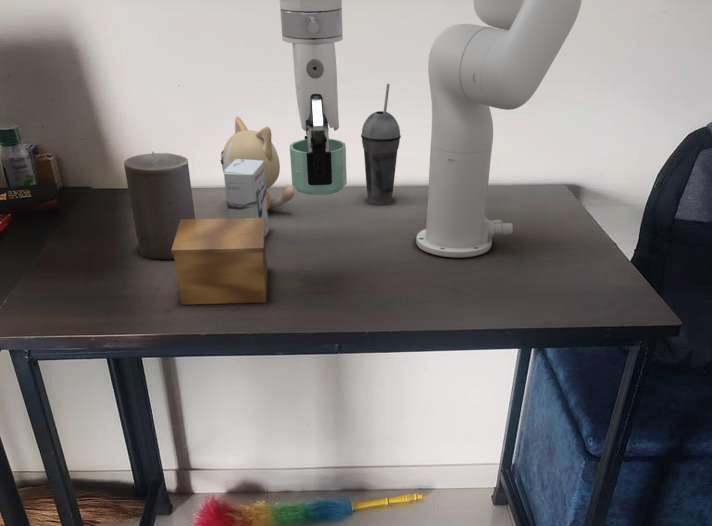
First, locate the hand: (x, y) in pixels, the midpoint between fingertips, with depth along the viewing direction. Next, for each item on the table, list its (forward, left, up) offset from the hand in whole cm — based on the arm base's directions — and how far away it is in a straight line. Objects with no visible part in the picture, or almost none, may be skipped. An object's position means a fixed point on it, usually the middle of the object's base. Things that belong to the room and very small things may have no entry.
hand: (318, 174), depth 105 cm
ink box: (+11, -20, -16) cm, 28 cm away
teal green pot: (0, 0, -2) cm, 2 cm away
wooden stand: (+14, 0, -16) cm, 21 cm away
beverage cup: (-13, -39, -16) cm, 44 cm away
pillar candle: (+24, -16, -16) cm, 33 cm away
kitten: (+11, -35, -16) cm, 40 cm away
